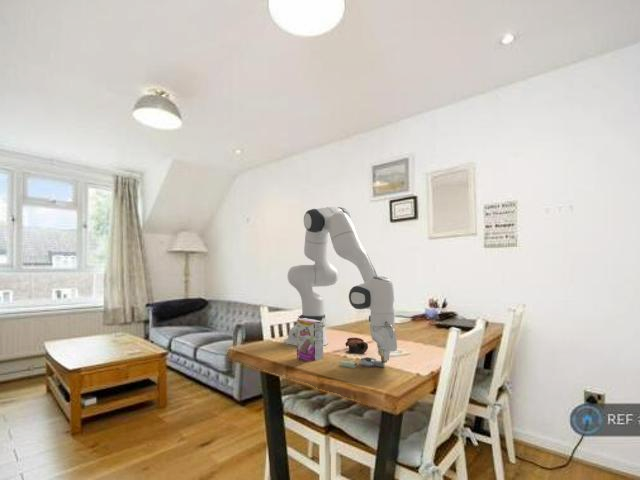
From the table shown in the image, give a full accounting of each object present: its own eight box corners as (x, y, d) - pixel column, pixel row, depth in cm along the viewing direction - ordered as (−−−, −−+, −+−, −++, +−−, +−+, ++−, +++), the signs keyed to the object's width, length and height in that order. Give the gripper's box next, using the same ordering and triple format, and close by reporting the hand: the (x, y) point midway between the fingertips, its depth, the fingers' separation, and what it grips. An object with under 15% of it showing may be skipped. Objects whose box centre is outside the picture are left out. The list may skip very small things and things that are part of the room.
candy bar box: (296, 359, 135) (296, 319, 137) (305, 356, 139) (305, 317, 140) (314, 364, 127) (314, 322, 129) (323, 362, 131) (323, 320, 132)
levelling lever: (358, 366, 121) (358, 349, 121) (363, 361, 126) (362, 345, 127) (385, 369, 116) (384, 351, 117) (389, 364, 122) (388, 347, 122)
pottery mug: (339, 356, 141) (341, 337, 145) (353, 362, 146) (354, 344, 150) (361, 354, 133) (362, 334, 138) (375, 360, 138) (375, 341, 143)
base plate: (331, 370, 120) (331, 361, 120) (353, 358, 136) (352, 349, 136) (388, 381, 109) (388, 370, 109) (405, 366, 125) (404, 357, 125)
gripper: (400, 324, 112) (402, 365, 111) (382, 315, 133) (383, 350, 131) (383, 325, 112) (384, 366, 110) (367, 316, 132) (368, 351, 131)
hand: (383, 357), depth 121 cm, fingers open, 4 cm apart
